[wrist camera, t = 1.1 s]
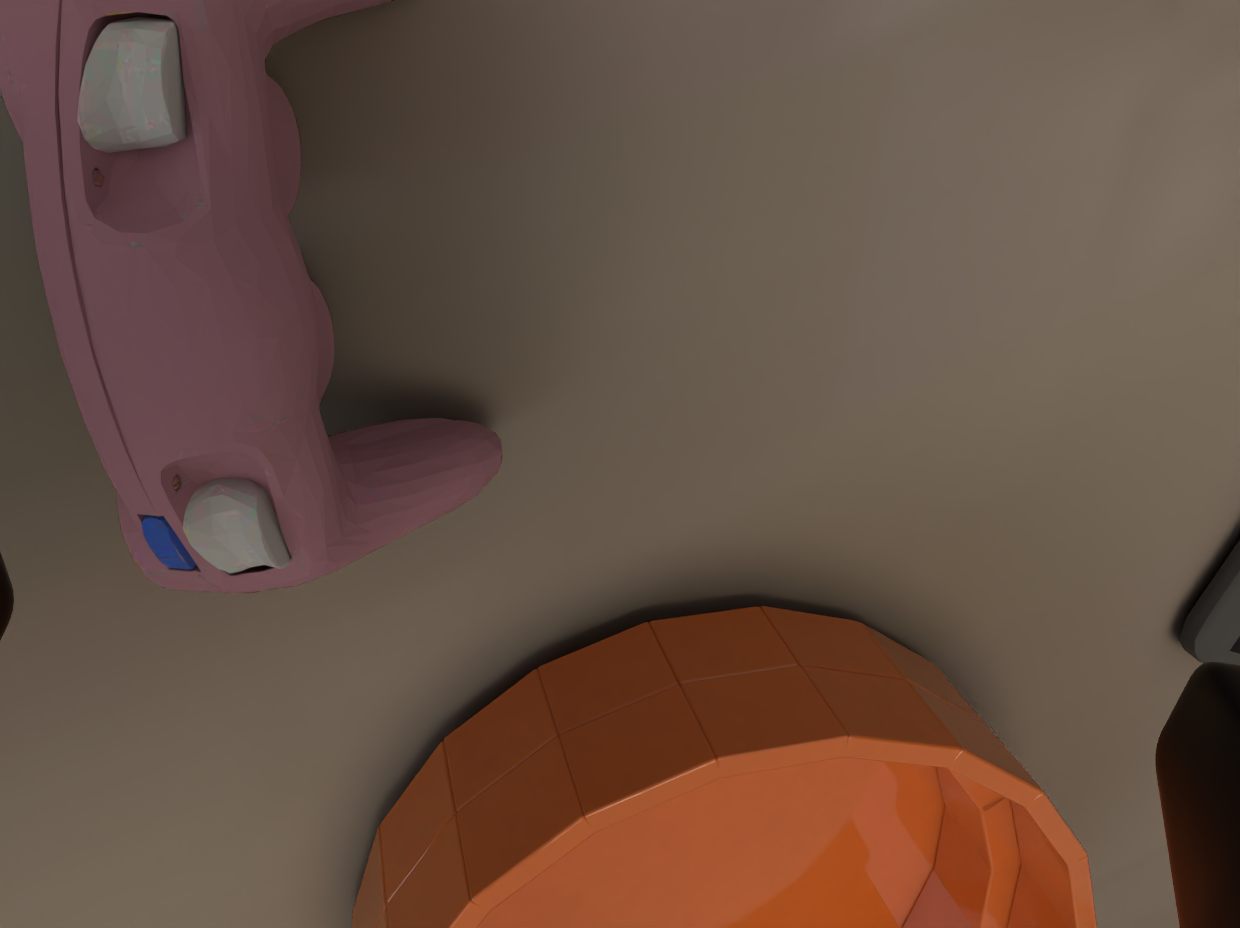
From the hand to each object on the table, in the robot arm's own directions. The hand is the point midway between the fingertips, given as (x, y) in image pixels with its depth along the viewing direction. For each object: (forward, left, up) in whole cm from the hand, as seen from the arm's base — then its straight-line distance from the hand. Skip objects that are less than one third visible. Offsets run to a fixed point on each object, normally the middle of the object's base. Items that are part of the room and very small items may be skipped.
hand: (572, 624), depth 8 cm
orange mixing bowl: (0, -17, -13) cm, 21 cm away
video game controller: (-2, +1, -13) cm, 13 cm away
